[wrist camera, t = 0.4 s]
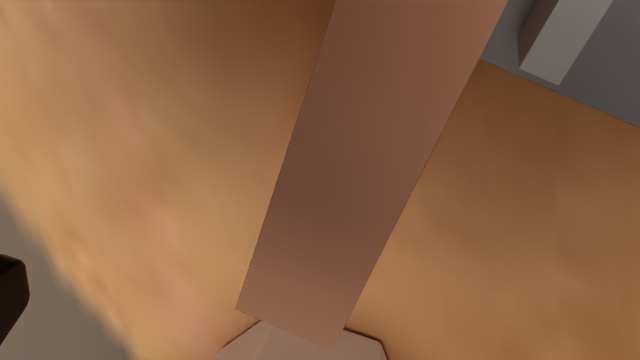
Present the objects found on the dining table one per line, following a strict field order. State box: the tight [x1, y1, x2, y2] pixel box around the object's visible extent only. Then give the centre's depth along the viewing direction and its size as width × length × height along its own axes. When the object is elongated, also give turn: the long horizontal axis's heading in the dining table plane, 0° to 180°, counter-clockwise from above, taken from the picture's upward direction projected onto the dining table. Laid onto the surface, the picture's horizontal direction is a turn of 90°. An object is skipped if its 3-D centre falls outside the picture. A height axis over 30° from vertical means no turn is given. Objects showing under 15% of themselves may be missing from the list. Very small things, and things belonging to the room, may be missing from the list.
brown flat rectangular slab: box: [235, 0, 508, 351], centre depth 15 cm, size 2×9×8 cm, turn 162°
